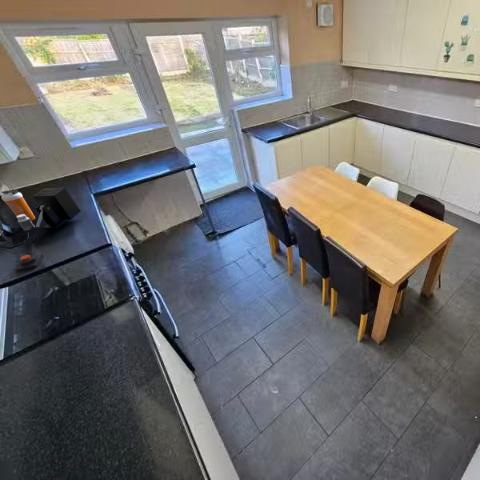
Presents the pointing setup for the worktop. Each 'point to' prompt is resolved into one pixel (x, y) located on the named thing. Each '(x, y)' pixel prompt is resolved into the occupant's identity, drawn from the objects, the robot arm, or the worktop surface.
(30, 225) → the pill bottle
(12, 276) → the worktop surface
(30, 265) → the timer block
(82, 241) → the worktop surface
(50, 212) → the lever bracket
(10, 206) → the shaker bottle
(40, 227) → the toaster lever
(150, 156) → the worktop surface
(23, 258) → the timer button
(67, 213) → the toaster
